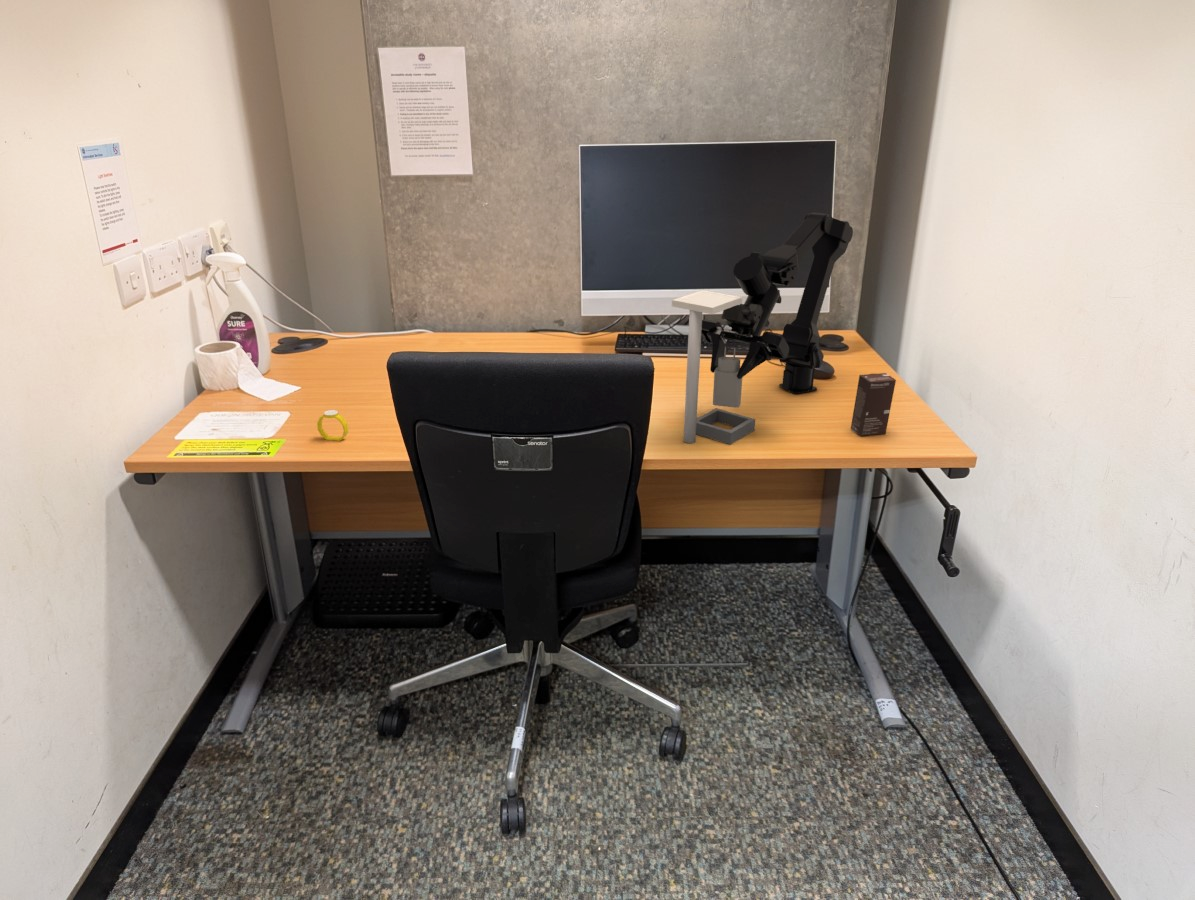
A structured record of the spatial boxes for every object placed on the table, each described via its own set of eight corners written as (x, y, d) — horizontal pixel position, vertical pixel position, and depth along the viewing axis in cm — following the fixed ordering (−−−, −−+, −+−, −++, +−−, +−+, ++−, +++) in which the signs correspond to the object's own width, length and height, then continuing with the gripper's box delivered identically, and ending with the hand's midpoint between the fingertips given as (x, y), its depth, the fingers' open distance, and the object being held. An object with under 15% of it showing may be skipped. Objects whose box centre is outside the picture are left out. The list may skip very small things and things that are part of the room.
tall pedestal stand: (706, 416, 173) (714, 286, 162) (754, 430, 167) (766, 295, 155) (666, 437, 163) (671, 300, 151) (716, 453, 156) (725, 310, 145)
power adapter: (738, 407, 162) (742, 350, 157) (711, 405, 163) (715, 348, 158) (741, 402, 165) (745, 346, 160) (714, 399, 166) (717, 343, 161)
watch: (350, 439, 163) (349, 411, 161) (344, 444, 161) (342, 417, 158) (323, 434, 164) (321, 407, 162) (316, 440, 162) (314, 412, 159)
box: (861, 437, 163) (869, 381, 158) (849, 429, 167) (857, 374, 162) (888, 434, 164) (897, 379, 159) (876, 426, 168) (884, 371, 163)
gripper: (704, 279, 163) (670, 345, 159) (788, 293, 152) (753, 364, 149) (722, 310, 171) (691, 372, 168) (803, 325, 160) (771, 392, 157)
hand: (724, 374), depth 160 cm, fingers closed on power adapter, 6 cm apart
